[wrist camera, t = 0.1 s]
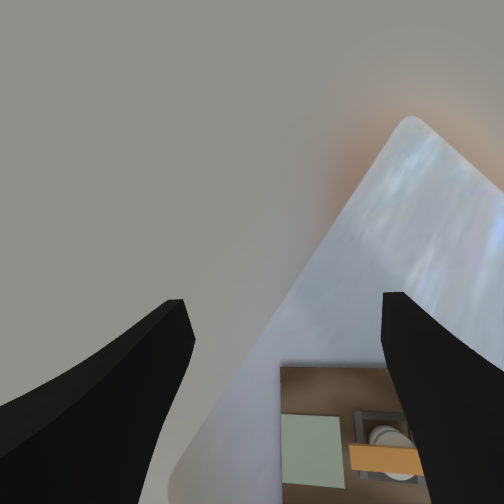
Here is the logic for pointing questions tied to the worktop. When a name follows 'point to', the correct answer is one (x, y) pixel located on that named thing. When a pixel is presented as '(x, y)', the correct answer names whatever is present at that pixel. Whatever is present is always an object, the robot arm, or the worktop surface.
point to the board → (350, 431)
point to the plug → (389, 442)
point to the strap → (385, 459)
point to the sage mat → (312, 450)
